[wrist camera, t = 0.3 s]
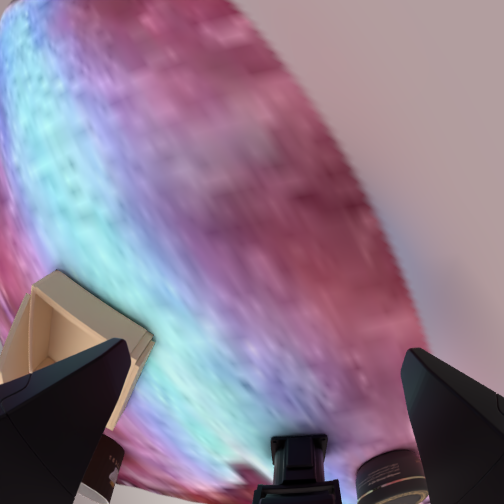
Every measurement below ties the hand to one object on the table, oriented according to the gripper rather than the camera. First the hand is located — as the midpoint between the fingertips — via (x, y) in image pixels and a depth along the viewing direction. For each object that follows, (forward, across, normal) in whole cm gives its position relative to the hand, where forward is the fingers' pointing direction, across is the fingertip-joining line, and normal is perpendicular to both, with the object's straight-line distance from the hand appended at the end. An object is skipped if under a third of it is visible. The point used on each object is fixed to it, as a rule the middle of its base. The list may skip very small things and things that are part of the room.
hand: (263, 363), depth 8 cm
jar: (+15, -17, +33) cm, 40 cm away
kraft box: (+14, +20, +12) cm, 27 cm away
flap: (+10, +25, +9) cm, 28 cm away
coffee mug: (+15, +26, +34) cm, 45 cm away
